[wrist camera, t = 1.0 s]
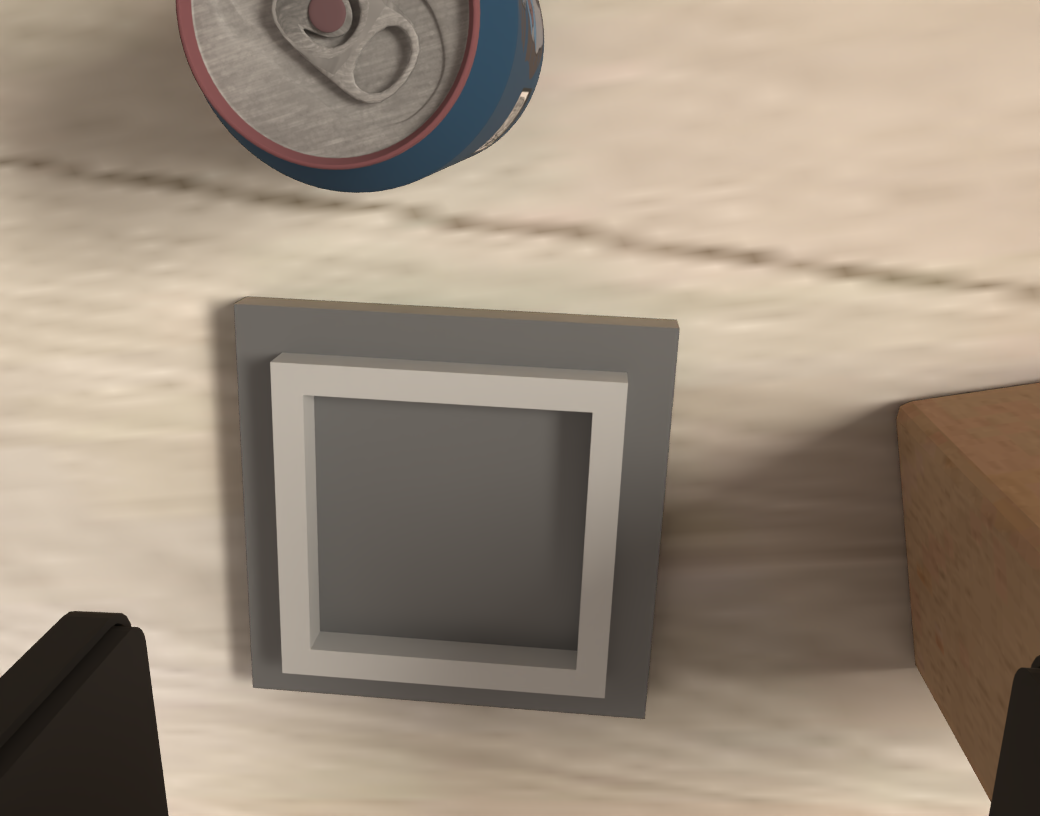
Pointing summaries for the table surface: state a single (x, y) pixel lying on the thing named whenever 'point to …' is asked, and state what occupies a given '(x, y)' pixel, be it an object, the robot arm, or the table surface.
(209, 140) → the table surface
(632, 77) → the table surface
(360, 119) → the soda can
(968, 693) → the wooden block
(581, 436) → the holder plate
